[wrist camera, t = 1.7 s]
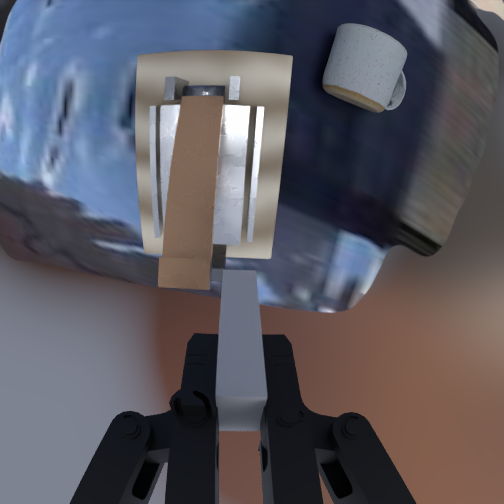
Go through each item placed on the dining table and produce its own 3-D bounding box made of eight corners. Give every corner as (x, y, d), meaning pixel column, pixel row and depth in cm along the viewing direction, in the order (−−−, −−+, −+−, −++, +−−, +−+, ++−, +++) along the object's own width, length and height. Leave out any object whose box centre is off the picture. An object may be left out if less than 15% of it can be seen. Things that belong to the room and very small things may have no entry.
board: (143, 57, 23) (137, 55, 22) (289, 58, 24) (292, 56, 23) (148, 245, 35) (144, 253, 34) (269, 250, 37) (270, 258, 35)
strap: (186, 92, 21) (183, 78, 19) (225, 92, 22) (225, 78, 20) (165, 285, 20) (157, 286, 18) (211, 288, 20) (208, 289, 18)
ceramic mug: (310, 90, 26) (333, 89, 20) (328, 30, 22) (355, 14, 16) (389, 123, 28) (424, 133, 22) (405, 67, 24) (443, 66, 18)
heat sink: (160, 82, 24) (138, 79, 18) (263, 83, 24) (270, 78, 19) (164, 249, 34) (150, 280, 28) (249, 253, 34) (251, 285, 29)
